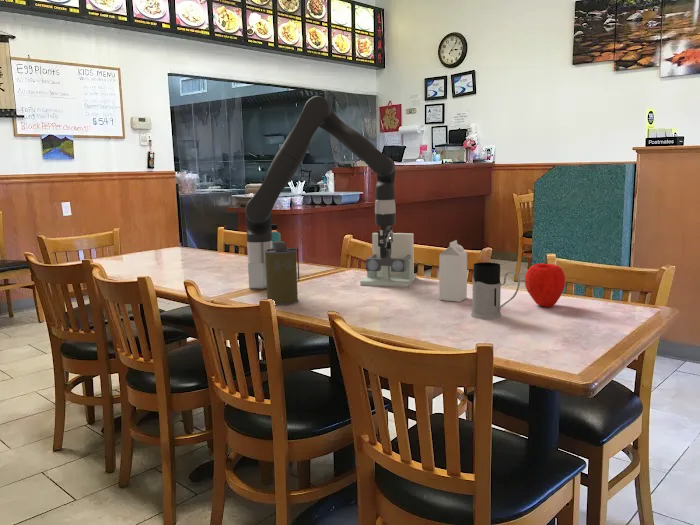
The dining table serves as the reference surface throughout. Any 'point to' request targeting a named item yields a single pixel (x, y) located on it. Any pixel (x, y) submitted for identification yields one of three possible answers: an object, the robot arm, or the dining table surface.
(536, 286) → the apple
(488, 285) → the glass holder
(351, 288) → the dining table surface
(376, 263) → the spectacles
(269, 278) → the canister
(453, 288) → the milk carton
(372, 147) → the robot arm
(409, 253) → the display stand
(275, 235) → the beverage bottle
